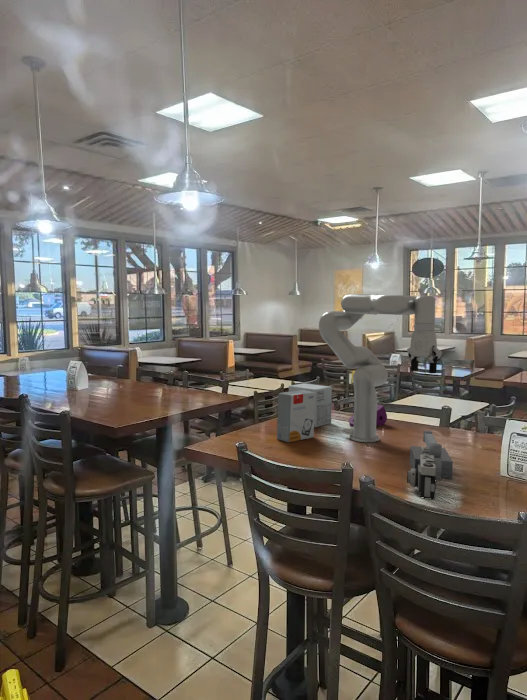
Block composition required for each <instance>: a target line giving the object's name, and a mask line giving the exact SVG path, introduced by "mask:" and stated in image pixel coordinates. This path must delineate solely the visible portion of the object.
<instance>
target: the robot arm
mask: <svg viewBox="0 0 527 700" xmlns="http://www.w3.org/2000/svg"><path fill="white" fill-rule="evenodd" d="M340 305H341V309H342V310H341V311H340V310H339V311H336V310H334V311H333V310H332V311H326V312H325V313H323V314H322V315H321V316H320V318H319V321H318V330H319V334H320V336H321V338H322V340H323V341H324V342H325V343H326V345H328V346H329V348H330V349H331V351H333V353H334V354H335V356H336V357H337V358H338V359H339V361H340V362H341V363H342V364H343V365H344V366H345V368H347V369H351V370H352V369H353V370H354V369H355V370H354V372H353V374H352V385H353V394H354V398H353V402H354V403H353V407H354V408H353V415H354V426H353V427H350V428H345V427H344V428H342V433H344V434H346V435H348V434H349V439H350V440H351V441H355V442H359V443H376V441H377V442H378V441H380V436H379V435H377V425H376V418H377V404H378V394H377V391H376V387H380V386H383V385H384V384H385V383H386V382H387V380H388V377H389V374H388V370H387V369H386V367H385V365H384V364H383V363H382V362H381V360H379V358H378V357H377V356H376V355H375V354H374V352H372V350H371V349H369V348H368V347H366V346H362V345H359V346H356V345H355V344H353V343H352V342H351V341H350V340H349V338H348V337H347V335H346V334H344V333H343V332H341V331H346V330H349V329H351V328H352V327H353V326H354V325H355V324H356V323H357V322H359V320H361V319H362V317H363V316H365V315H375V316H376V315H395V316H401V315H403V316H404V315H405V316H409V315H410V316H412V315H414V325H413V328H414V329H413V331H412V333H411V338H410V347H408V348H407V349H406V351H407V355H408V357H409V361H410V371H412V372H413V371H415V372H417V371H418V370H419V360H418V359H419V358H423V359H424V358H426V359H428V360H429V365H428V373H429V374H436V373H437V365H438V364H437V363H439V360H441V356H442V355H443V352H442V350H440V349H439V348H438V343H437V340H438V339H437V334H436V333H437V332H436V331H435V330H436V329H435V328H436V326H435V325H436V322H435V321H436V298H435V296H433V295H417V296H414V295H401V294H400V295H398V294H397V295H396V294H395V295H393V294H392V295H391V294H389V295H388V294H380V295H379V294H378V293H348V294H346V295H344V296H343V297H342V299H341V302H340Z"/></svg>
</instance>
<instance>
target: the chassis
mask: <svg viewBox="0 0 527 700" xmlns="http://www.w3.org/2000/svg"><path fill="white" fill-rule="evenodd" d="M428 453H429V449H428V447H427V446H417V445H415V446H414V445H410V446H409V464H411V465H410V467H412V468H411V469H417V468H418V465H420V455H421V454H424V455H428ZM434 458H435V460H436V463H435V467H436V473H435V476H436V479H435V480H438V481H437V482H442V481H441V480H442V478H448V479H447V480H453V463H454V462H453V460H452V457H451V456H450V455H449V452H447V450H446V448H444V447H442V451H441V457H434Z"/></svg>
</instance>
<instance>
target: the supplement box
mask: <svg viewBox="0 0 527 700" xmlns="http://www.w3.org/2000/svg"><path fill="white" fill-rule="evenodd" d="M332 387H333V386H330V385H329V386H327V385H321V384H312V383H297V384H292V385H291V384H290V385H288V392H292V391H300V390H306V391H311V392H315V412H314V428H318V427H322V426H325V425H329V424H332V405H333V404H332V403H333V402H332V400H333V398H332V397H333V396H332V395H333V393H332V391H333V388H332Z"/></svg>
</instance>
